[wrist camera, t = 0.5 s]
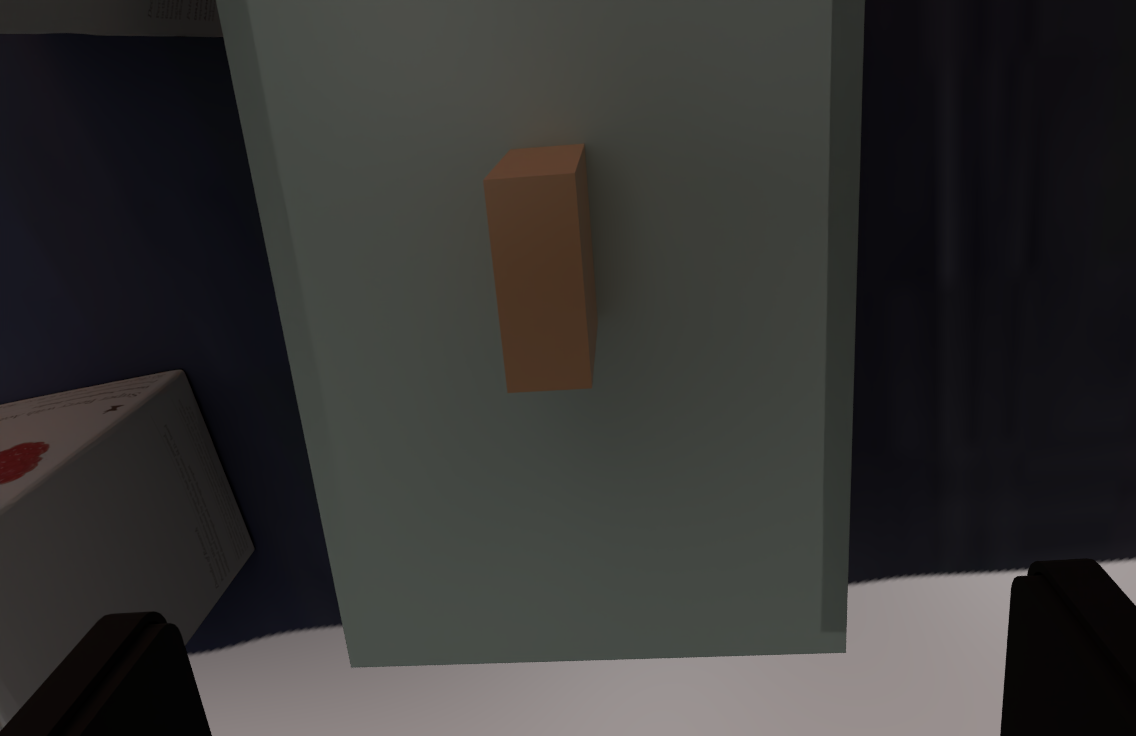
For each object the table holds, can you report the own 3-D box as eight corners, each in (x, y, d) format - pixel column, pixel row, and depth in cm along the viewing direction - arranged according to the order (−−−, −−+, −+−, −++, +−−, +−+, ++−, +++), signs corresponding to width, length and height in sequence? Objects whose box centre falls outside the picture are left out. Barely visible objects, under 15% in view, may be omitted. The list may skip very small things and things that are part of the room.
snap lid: (239, -52, 25) (97, -79, 18) (846, -112, 24) (935, -164, 17) (369, 625, 33) (302, 782, 26) (830, 609, 32) (887, 771, 25)
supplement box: (187, 361, 37) (-79, 569, 23) (260, 550, 40) (65, 835, 26) (-13, 401, 38) (-382, 622, 24) (73, 581, 41) (-211, 870, 27)
